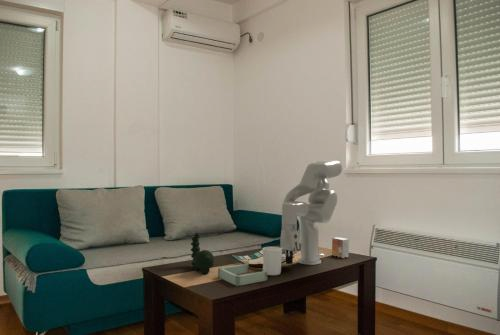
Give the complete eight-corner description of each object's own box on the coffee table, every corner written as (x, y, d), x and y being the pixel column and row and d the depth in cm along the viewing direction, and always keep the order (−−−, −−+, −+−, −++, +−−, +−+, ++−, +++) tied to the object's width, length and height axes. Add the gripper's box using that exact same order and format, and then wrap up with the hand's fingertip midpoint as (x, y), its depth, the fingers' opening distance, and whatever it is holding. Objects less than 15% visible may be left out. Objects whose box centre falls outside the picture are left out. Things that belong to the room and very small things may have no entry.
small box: (331, 255, 228) (331, 237, 228) (338, 254, 231) (338, 236, 231) (342, 258, 221) (342, 239, 221) (348, 257, 225) (348, 238, 225)
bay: (246, 271, 192) (246, 259, 192) (267, 280, 178) (267, 267, 178) (218, 276, 183) (218, 264, 183) (237, 286, 169) (237, 272, 169)
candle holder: (286, 273, 189) (286, 249, 189) (270, 276, 183) (270, 251, 183) (273, 269, 197) (273, 245, 197) (258, 272, 191) (258, 247, 191)
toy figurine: (186, 269, 202) (199, 277, 180) (185, 232, 204) (199, 236, 181) (203, 267, 206) (219, 275, 183) (203, 231, 208) (218, 234, 185)
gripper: (304, 228, 192) (304, 265, 192) (285, 224, 204) (285, 259, 204) (293, 229, 187) (292, 267, 187) (274, 226, 200) (274, 261, 200)
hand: (289, 263), depth 196 cm, fingers closed
